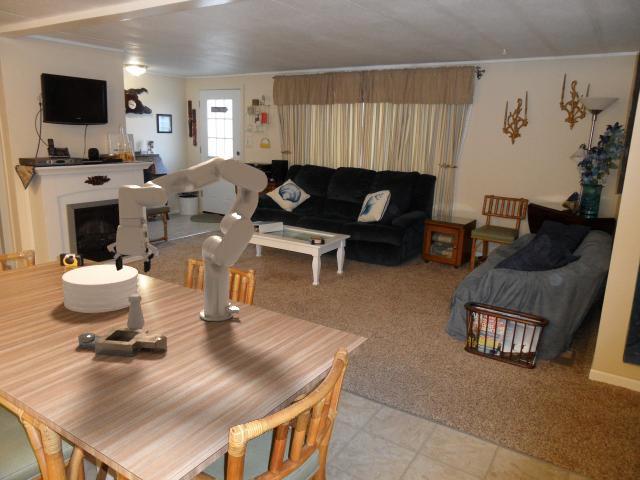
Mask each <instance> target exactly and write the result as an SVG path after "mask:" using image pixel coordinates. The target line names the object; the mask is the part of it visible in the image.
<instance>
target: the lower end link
mask: <svg viewBox="0 0 640 480" xmlns="http://www.w3.org/2000/svg"><path fill="white" fill-rule="evenodd" d="M102 336H103V335H99V334H97V335H96V334H95V333H93V332H86V333H82V334H79V335H78V337H77V338H78V347H79V348H81V349H84V350H94V351H95V355H103V356H115V357H128V358H133V357H134V356H136V354H137V353H139V351H140V350H141V349H142V348H143V347H136V348H135V349H134V350H133V351H125V350H112V349H98V348H95V342H96V341H97V340H98V339H100V338H101V337H102ZM133 338H134V337H129V336H116V337H115V338H113V339H112V340H111V341H123V342H129V341H130V340H132V339H133Z"/></svg>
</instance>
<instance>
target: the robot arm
mask: <svg viewBox="0 0 640 480" xmlns="http://www.w3.org/2000/svg"><path fill="white" fill-rule="evenodd" d="M221 181H224V182H228V183H230V184H232V185H235V186H236V190H237V194H236V197H235V200H233V203H232V204H231V206H230V208H229V209H228V211H227V212H226V213H225V215H224V216H223V217H222V220H221V221H220V223H219V229H220V231H221V233H222V234H224V236H223V237H222V236H219V235H211V236H209V237H206V238H205V240H204V241H203V244H202V245H201V257H202V263H203V309H202V310H201V311H200V312H199V318H201V319H202V320H205V321H208V322H222V321H223V322H224V321H226V320H228V319H231V318H232V317H233V315H234V314H235V315H237V314H238V315H240V312H241V310H240V308H239V307H238V306H232V302H230V267H231V266H233V265H234V264H235V263H236V262H237V261H238V260H239V259H240V257H241V255H242V254H243V252H244V251H245V249H246V248H247V246H249V243H250V241H251V240H252V238H253V236H254V232H255V226H254V223H253V221H252V220H251V218H252V216H253V214H254V213H255V211H256V209H257V207H258V203H259V193H261V192H263V191H264V190H265V189H266V188H267V186H268V177H267V175H266V174H265V172H264V171H263V170H260V169H259V168H256V167H254V166H252V165H249V164H247V163H244V162H243V161H240V160H238V159H235V158H234V157H229V156H224V155H220V156H215V157H213V158H209V159H208V160H205V161H203V162H200V163H197V164H196V165H193V166H190V167H188V168H184V169H181V170H177V171H175V172H172V173H168V174H165V175H162V176H159V177H157V178H154V179H151V180H149V181H147V182H145V183H142V185H141V186H139V185H135V184H126V185H125V184H124V185H120V186H119V187H118V212H119V213H118V214H119V215H118V216H119V225H118V226H117V230H116V235H115V236H116V238H115V242H112V243H111V244H108V245H107V246H106V247H107V250H108V251H109V254H110V255H111V256H112V258H113V259H114V260H115V261H114V262H115V264H114V265H116V268H117V271H119V270H121V269H123V265H124V263H123V257H122V256H133V257H134V256H135V257H137V256H138V257H142V258H143V260H144V262H143V272H144V273H145V274H147V273H148V272H150V271H151V268H152V267H151V266H152V264H151V263H152V262H151V260H152V259H153V258H155V256H156V255H157V253H158V250H159V248H158V247H157V246H154V245H152V244H151V243H150V238H149V232H148V228H147V225H145V224H148V219H145V217H144V207H145V208H153V209H155V208H156V209H157V208H163V206H165V205H166V204H167V202H168V201H169V197H170V196H172V195H175V194H180V193H193V192H198V191H200V190H202V189H205V188H207V187H210V186H212V185H214V184H216V183H219V182H221ZM114 248H115V249H116V250H115V249H114ZM150 252H151V253H150Z"/></svg>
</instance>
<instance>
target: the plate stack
mask: <svg viewBox="0 0 640 480" xmlns="http://www.w3.org/2000/svg"><path fill="white" fill-rule="evenodd" d="M61 281H62V294H63V306H64V308H66V309H67V310H69V311H71V312H77V313H85V314H86V313H90V314H95V313H98V314H99V313H106V312H112V311H118V310H122V309H125V308H129V307H130V302H129V300H128V298H129V296H130V295H132V294H140V293H139V292H140V290H139V286H140V285H139V271H138V270H137V268H134V267H132V266H130V265H129V266H128V265H125V264H123V269H121V270H119V271H117V268H116V264H95V265H88V266H82V267H78V268H74V269H71V270H68V271H67V272H66V271H65V273H64V274H63V275H62V276H61Z"/></svg>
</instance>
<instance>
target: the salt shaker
mask: <svg viewBox="0 0 640 480" xmlns="http://www.w3.org/2000/svg"><path fill="white" fill-rule="evenodd" d="M142 298H143V297H142V295H141V294H140V293H138V294H132V295H130V296H129V298H128V300H129V302H130V306H129V309H128V310H129V312H128V317H127V321H126V322H127V323H126V326H127V328H131V329H143V328H144V326H145V319H144V313H143V309H142V304H141V301H142Z"/></svg>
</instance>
